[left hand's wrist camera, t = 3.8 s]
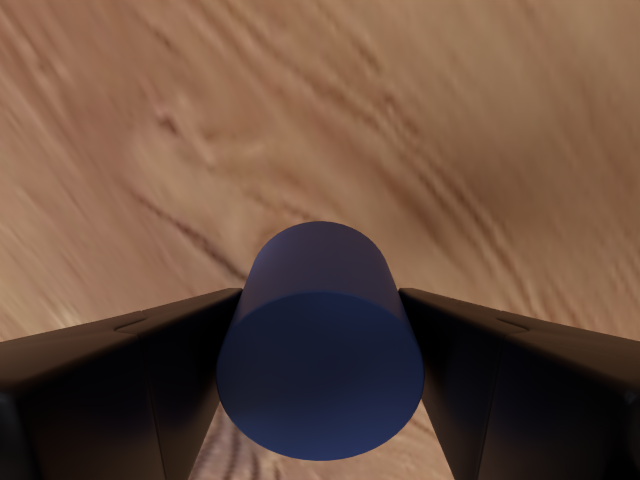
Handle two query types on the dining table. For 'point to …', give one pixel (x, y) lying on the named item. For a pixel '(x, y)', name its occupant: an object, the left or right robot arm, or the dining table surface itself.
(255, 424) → the canister
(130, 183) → the dining table surface
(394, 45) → the dining table surface
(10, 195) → the dining table surface
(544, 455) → the left robot arm
